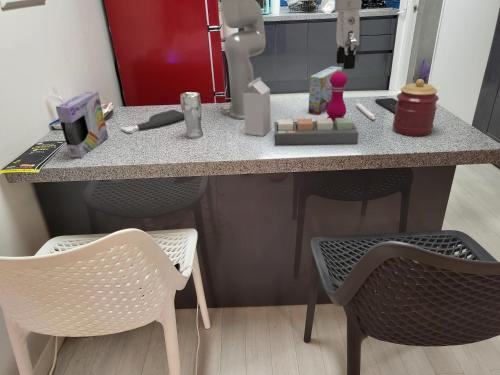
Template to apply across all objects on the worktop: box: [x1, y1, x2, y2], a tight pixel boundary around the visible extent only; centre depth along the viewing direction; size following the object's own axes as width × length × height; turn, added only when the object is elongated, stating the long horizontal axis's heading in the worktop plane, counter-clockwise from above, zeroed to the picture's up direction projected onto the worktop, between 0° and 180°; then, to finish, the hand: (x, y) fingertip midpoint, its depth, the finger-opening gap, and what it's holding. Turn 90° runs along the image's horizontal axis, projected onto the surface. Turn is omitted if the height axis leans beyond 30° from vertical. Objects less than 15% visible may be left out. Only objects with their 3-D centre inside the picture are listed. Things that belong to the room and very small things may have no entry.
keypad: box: [273, 120, 359, 147], centre depth 127 cm, size 27×12×4 cm, turn 86°
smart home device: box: [374, 97, 398, 116], centre depth 153 cm, size 8×2×20 cm
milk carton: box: [243, 76, 272, 137], centre depth 131 cm, size 7×7×19 cm
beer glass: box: [180, 91, 204, 139], centre depth 132 cm, size 7×7×15 cm
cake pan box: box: [55, 90, 109, 159], centre depth 125 cm, size 19×5×18 cm, turn 170°
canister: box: [392, 78, 440, 137], centre depth 126 cm, size 13×13×18 cm
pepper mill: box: [325, 68, 348, 121], centre depth 136 cm, size 7×7×20 cm
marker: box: [355, 102, 376, 121], centre depth 147 cm, size 18×2×2 cm, turn 5°
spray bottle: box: [120, 109, 185, 134], centre depth 148 cm, size 3×11×24 cm
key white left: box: [277, 118, 294, 131], centre depth 126 cm, size 5×5×4 cm
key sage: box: [335, 117, 354, 130], centre depth 125 cm, size 5×5×4 cm
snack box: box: [307, 66, 343, 116], centre depth 154 cm, size 21×6×15 cm, turn 147°
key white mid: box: [315, 117, 333, 130], centre depth 125 cm, size 5×5×4 cm
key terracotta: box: [296, 118, 313, 131], centre depth 126 cm, size 5×5×4 cm
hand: (345, 65), depth 117 cm, fingers open, 9 cm apart
